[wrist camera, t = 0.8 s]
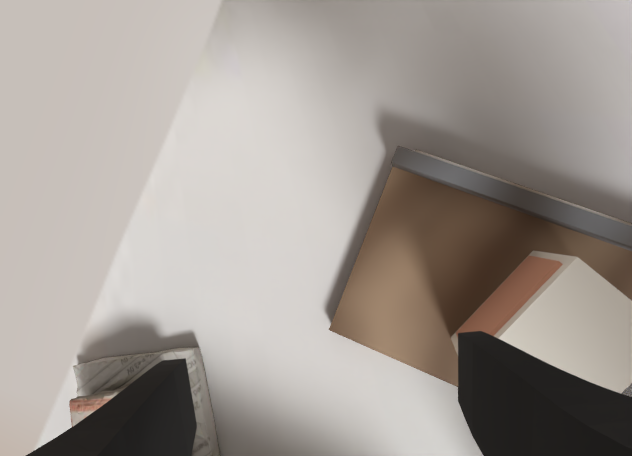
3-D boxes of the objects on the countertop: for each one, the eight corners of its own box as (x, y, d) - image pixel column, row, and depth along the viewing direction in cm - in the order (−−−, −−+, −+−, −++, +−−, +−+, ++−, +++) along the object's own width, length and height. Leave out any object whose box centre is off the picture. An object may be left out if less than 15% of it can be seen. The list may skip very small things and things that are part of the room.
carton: (605, 309, 25) (678, 338, 18) (517, 397, 26) (556, 455, 19) (530, 248, 26) (573, 253, 19) (447, 335, 27) (461, 370, 20)
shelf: (664, 243, 26) (697, 244, 23) (580, 435, 27) (602, 460, 24) (400, 151, 29) (399, 142, 26) (332, 326, 30) (323, 336, 27)
